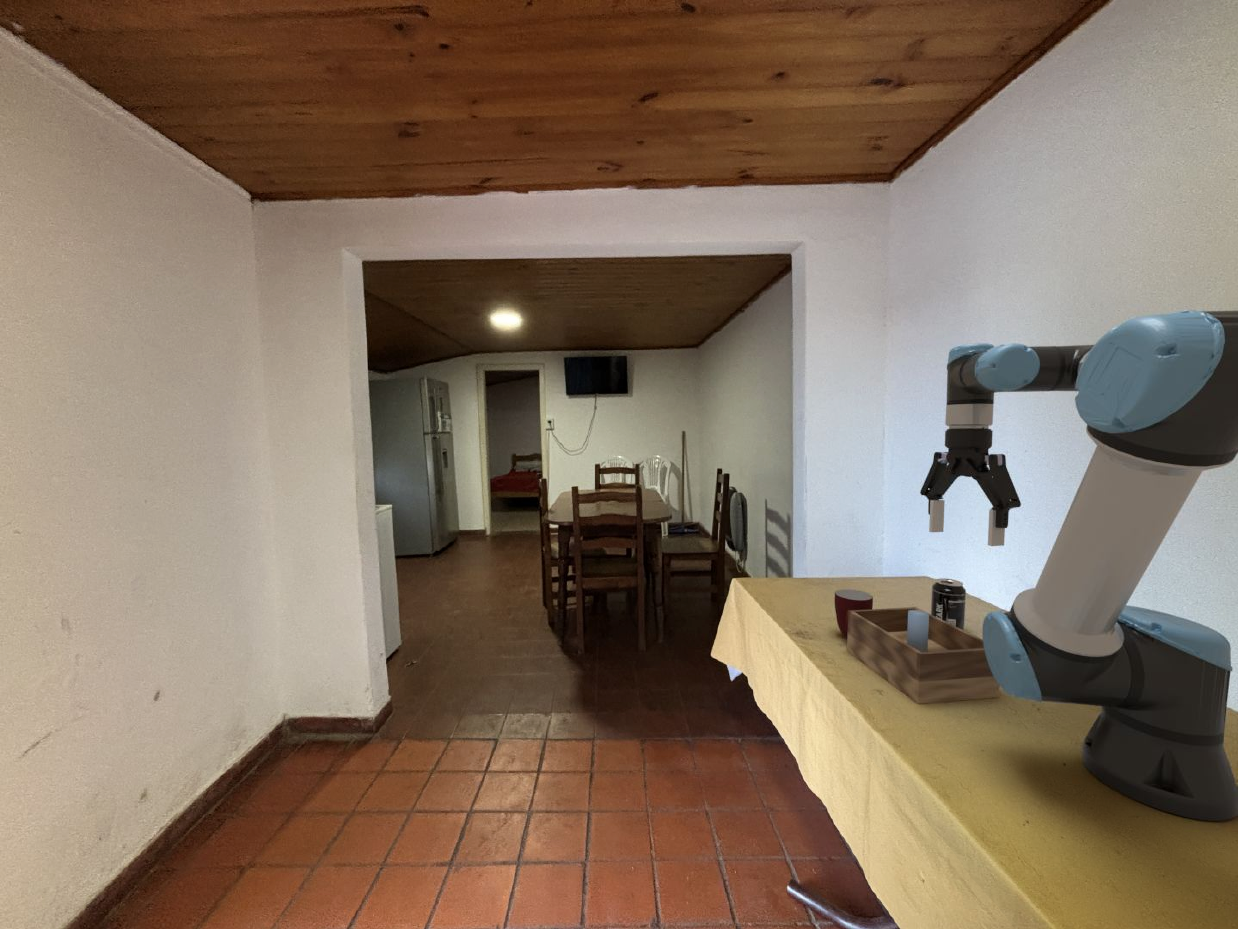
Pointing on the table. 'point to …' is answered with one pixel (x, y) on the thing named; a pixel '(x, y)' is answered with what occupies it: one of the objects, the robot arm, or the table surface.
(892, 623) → the tray box
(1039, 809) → the table surface
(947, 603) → the beverage can
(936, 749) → the table surface
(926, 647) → the peg
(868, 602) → the mug
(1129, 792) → the robot arm
